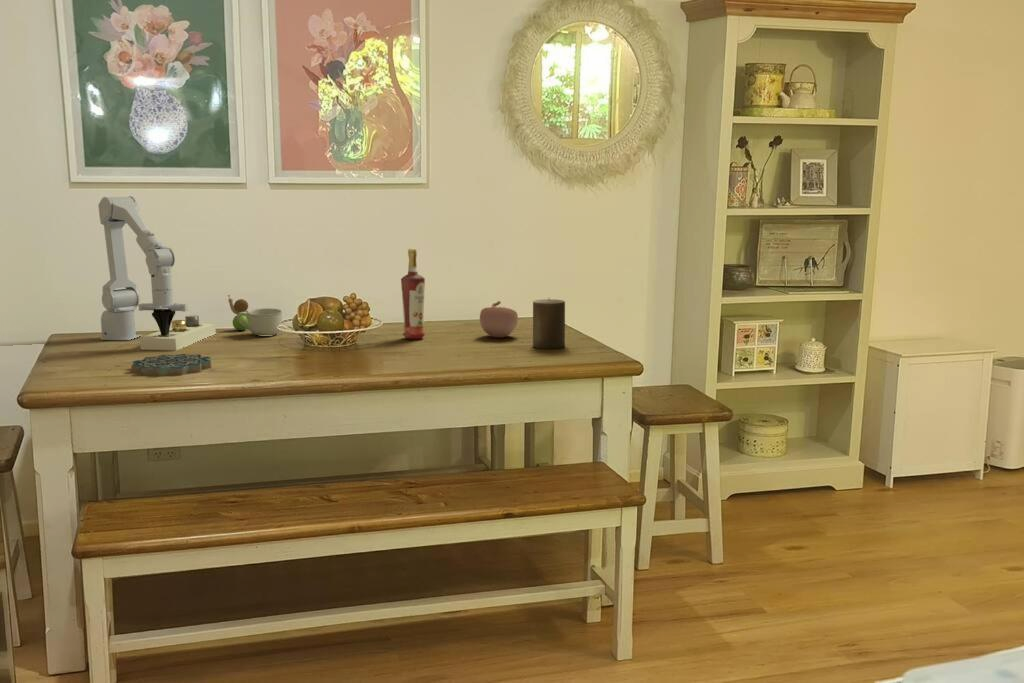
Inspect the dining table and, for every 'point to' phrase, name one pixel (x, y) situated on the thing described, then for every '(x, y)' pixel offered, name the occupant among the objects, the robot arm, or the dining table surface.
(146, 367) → the decorative tile
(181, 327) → the knob brass
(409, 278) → the liquor
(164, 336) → the knob near
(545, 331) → the pillar candle
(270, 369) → the dining table surface
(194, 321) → the knob far
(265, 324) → the teacup
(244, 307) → the snail figurine
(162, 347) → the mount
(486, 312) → the pink decorative apple
